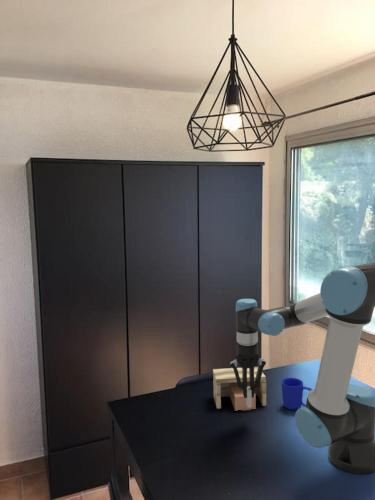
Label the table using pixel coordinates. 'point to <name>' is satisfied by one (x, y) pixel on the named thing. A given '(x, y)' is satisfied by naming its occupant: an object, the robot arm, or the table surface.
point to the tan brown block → (240, 397)
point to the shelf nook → (227, 376)
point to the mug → (293, 393)
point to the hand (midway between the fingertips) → (248, 405)
